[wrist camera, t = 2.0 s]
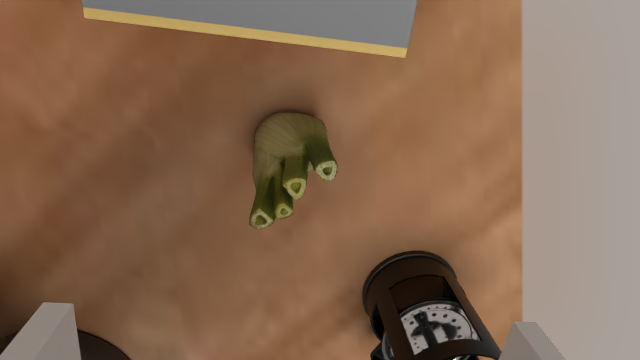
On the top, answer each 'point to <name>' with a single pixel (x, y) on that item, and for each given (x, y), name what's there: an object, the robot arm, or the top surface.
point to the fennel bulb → (287, 163)
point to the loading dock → (276, 20)
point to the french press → (424, 314)
